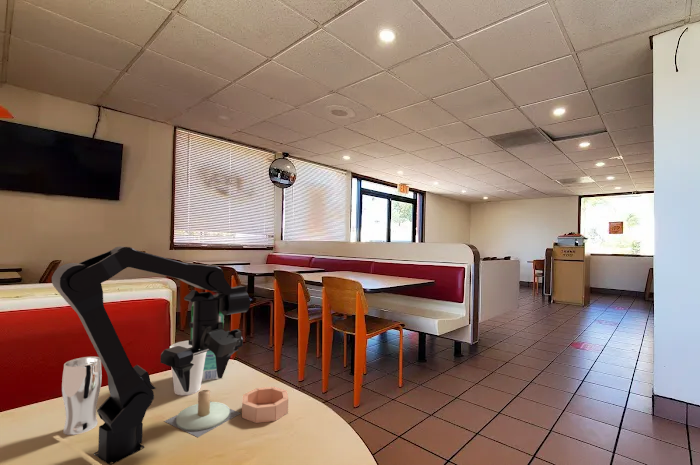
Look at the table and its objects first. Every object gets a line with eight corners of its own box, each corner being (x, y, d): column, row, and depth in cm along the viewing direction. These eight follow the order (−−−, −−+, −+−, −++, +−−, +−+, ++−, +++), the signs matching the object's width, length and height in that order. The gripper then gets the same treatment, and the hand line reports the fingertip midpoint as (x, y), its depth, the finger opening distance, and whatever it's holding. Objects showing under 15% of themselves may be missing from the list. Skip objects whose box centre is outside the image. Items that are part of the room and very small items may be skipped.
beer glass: (106, 427, 78) (108, 360, 78) (68, 442, 72) (71, 369, 72) (91, 418, 81) (93, 354, 82) (54, 432, 75) (56, 363, 76)
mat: (197, 439, 74) (197, 437, 74) (163, 423, 80) (163, 421, 80) (241, 415, 84) (241, 413, 84) (208, 402, 90) (208, 400, 90)
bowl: (265, 429, 78) (266, 411, 78) (232, 416, 84) (232, 399, 84) (296, 409, 88) (296, 393, 88) (264, 398, 93) (264, 383, 93)
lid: (198, 436, 74) (198, 409, 74) (165, 421, 80) (166, 395, 80) (239, 413, 84) (240, 389, 84) (208, 400, 90) (208, 378, 90)
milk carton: (191, 372, 110) (193, 293, 110) (221, 369, 113) (224, 292, 113) (189, 383, 101) (191, 298, 102) (222, 380, 104) (224, 297, 105)
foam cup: (212, 386, 100) (213, 341, 100) (194, 401, 91) (196, 351, 91) (180, 384, 101) (182, 339, 101) (160, 398, 92) (162, 349, 92)
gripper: (193, 332, 70) (190, 409, 70) (259, 315, 86) (257, 378, 86) (160, 324, 76) (157, 396, 75) (228, 310, 92) (226, 369, 92)
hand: (203, 384), depth 82 cm, fingers open, 9 cm apart
